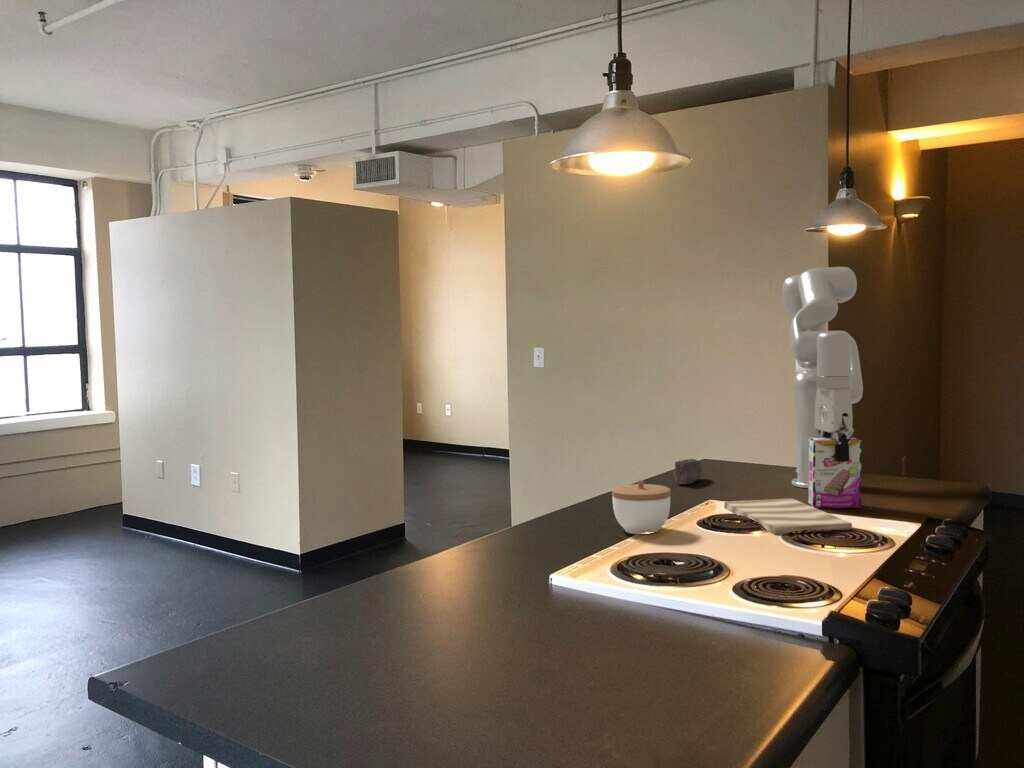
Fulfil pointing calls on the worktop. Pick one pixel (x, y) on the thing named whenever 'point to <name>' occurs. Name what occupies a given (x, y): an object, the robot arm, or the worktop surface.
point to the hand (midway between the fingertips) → (834, 458)
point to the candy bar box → (834, 475)
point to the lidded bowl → (641, 506)
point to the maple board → (786, 515)
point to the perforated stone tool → (687, 471)
